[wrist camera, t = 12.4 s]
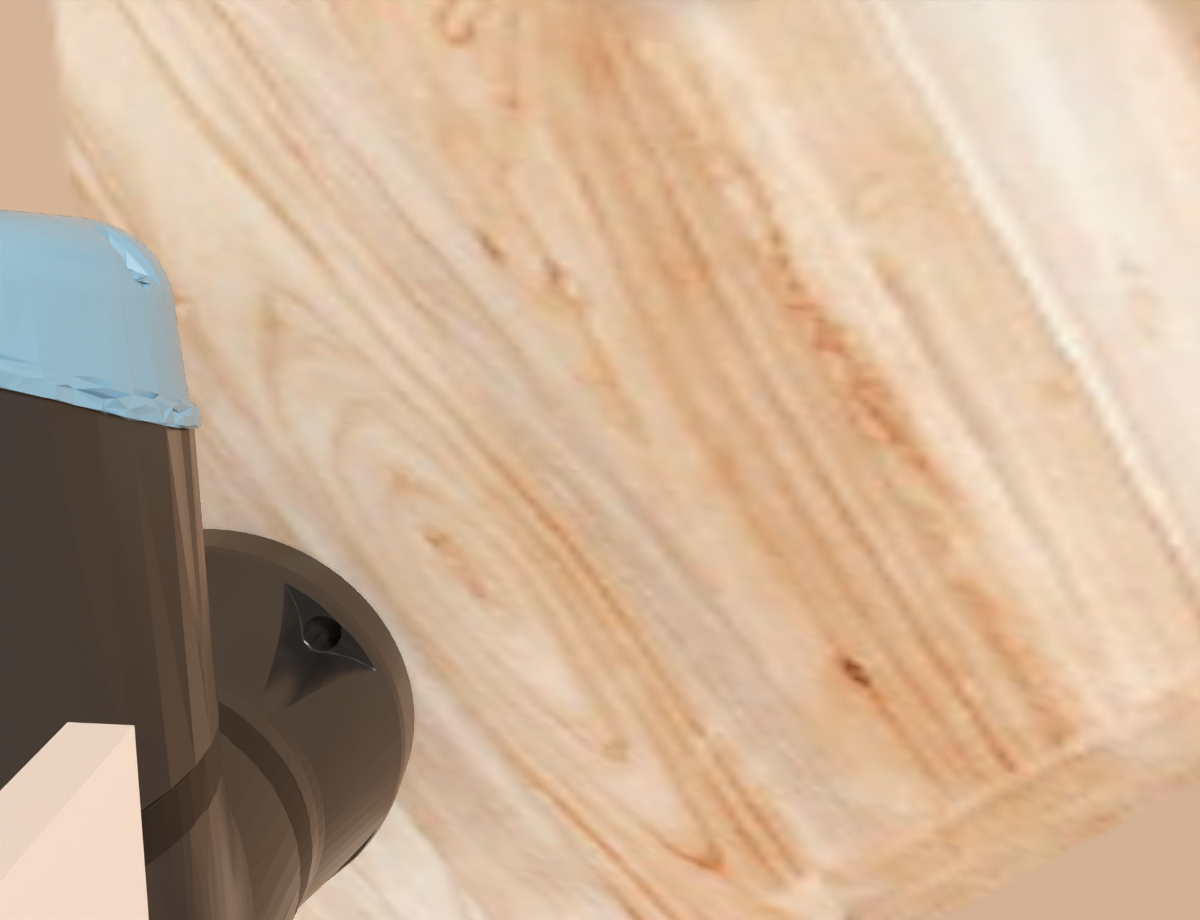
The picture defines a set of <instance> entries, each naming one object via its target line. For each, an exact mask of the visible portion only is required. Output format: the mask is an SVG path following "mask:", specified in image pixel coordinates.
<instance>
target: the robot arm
mask: <svg viewBox="0 0 1200 920" xmlns="http://www.w3.org/2000/svg"><path fill="white" fill-rule="evenodd" d="M200 426H201V425H200V414H199V410H198V407H197V406H196V405H195V404H193V403H192V402H191V401H190V399H189V393H188V388H187V382H186V377H185V371H184V365H183V359H182V352H181V345H180V338H179V331H178V324H177V317H176V311H175V304H174V297H173V293H172V289H171V284H170V282H169V279H168V277H167V275H166V273H165V271H164V269H163V267H162V266H161V264H160V262H159V261H158V259H157V258H156V257H155V256H154V254H153V253H152V252H151V251H150V250H149V249H148V248H147V247H146V246H145V245H144V244H143V243H142V242H140V241H139V240H138V239H136V238H135V237H134V236H132V235H131V234H130V233H128V232H126V231H124V230H123V229H120V228H118V227H116V226H113V225H111V224H108V223H106V222H102V221H98V220H93V219H88V218H81V217H71V216H61V215H51V214H41V213H30V212H20V211H10V210H0V920H293V918H294V916H295V914H296V912H297V909H298V907H300V906H301V905H302V904H303V903H304V902H305V901H306V900H307V899H308V898H309V897H310V896H311V895H312V894H314V893H315V892H316V891H317V890H318V889H319V888H320V887H321V886H322V885H323V884H324V883H325V882H326V881H328V880H329V879H330V878H332V877H333V876H334V875H336V874H337V873H338V872H339V871H341V870H342V869H343V868H344V867H346V866H347V865H348V864H349V863H350V862H352V861H353V860H354V859H355V858H356V857H357V856H358V855H359V854H360V853H361V852H362V851H363V849H364V848H365V847H366V846H367V845H368V844H369V842H370V841H371V840H372V838H373V837H374V836H375V834H376V833H377V831H378V830H379V828H380V827H381V825H382V823H383V822H384V820H385V819H386V817H387V815H388V813H389V811H390V809H391V807H392V805H393V802H394V800H395V797H396V795H397V792H398V789H399V787H400V784H401V781H402V778H403V775H404V773H405V770H406V767H407V763H408V760H409V757H410V752H411V747H412V741H413V733H414V705H413V697H412V691H411V686H410V681H409V677H408V674H407V670H406V667H405V664H404V662H403V659H402V656H401V654H400V652H399V650H398V647H397V645H396V643H395V641H394V639H393V638H392V636H391V634H390V632H389V631H388V629H387V627H386V626H385V624H384V623H383V621H382V620H381V618H380V617H379V616H378V614H377V613H376V612H375V611H374V609H373V608H372V607H371V606H370V604H369V603H368V602H367V601H366V600H365V599H364V598H363V597H362V596H361V595H360V594H359V593H358V592H357V591H356V590H355V589H354V588H353V587H352V586H351V585H350V584H349V583H348V582H346V581H345V580H344V579H343V578H342V577H341V576H339V575H338V574H336V573H335V572H334V571H332V570H331V569H330V568H328V567H327V566H325V565H324V564H322V563H320V562H319V561H317V560H316V559H314V558H312V557H310V556H308V555H307V554H305V553H303V552H301V551H299V550H296V549H294V548H292V547H290V546H287V545H285V544H282V543H279V542H277V541H274V540H271V539H267V538H264V537H261V536H257V535H252V534H248V533H243V532H236V531H229V530H217V529H203V527H202V515H201V503H200V492H199V480H198V468H197V456H196V444H195V432H194V428H198V427H200Z"/></svg>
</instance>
